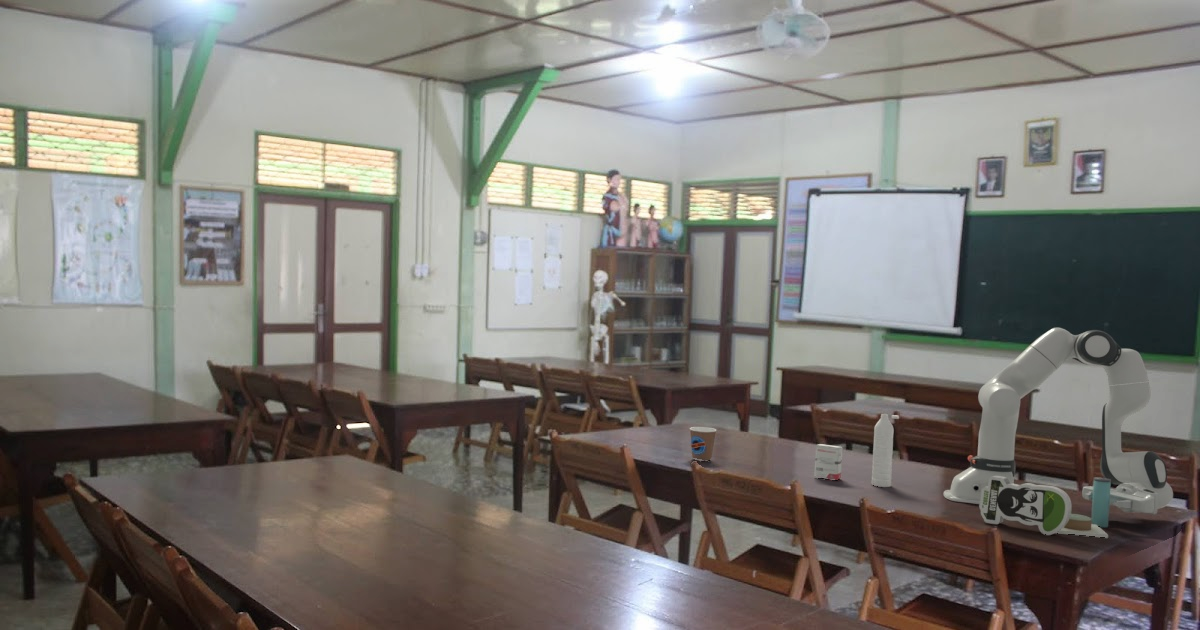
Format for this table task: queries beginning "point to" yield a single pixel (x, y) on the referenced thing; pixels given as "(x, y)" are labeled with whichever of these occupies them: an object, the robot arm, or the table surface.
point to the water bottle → (883, 452)
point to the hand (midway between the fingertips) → (1100, 500)
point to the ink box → (828, 461)
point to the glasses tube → (1101, 501)
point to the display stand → (1082, 527)
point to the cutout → (1025, 504)
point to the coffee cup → (702, 442)
